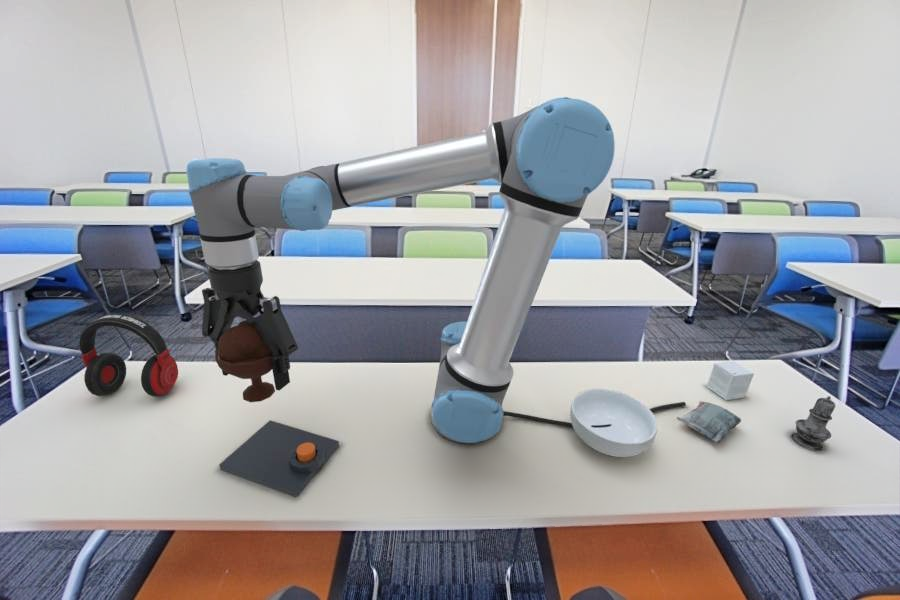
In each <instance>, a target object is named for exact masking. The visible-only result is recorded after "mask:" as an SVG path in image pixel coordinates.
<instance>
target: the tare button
mask: <svg viewBox="0 0 900 600" xmlns="http://www.w3.org/2000/svg"><path fill="white" fill-rule="evenodd" d="M315 455H316V453H315V446H314V444H312V443H303V444H301V445H300V446H299V447H298V448H297V457H298V460H299V461H300V462H309V461H311V460H312V459H313V458H314V457H315Z"/></svg>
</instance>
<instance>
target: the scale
mask: <svg viewBox="0 0 900 600" xmlns="http://www.w3.org/2000/svg"><path fill="white" fill-rule="evenodd" d="M303 443H312V444H314V446H315V453H316V455H315V457H314V458H313V459H312V460H311V461H309V462H300V461H299V460H298V457H297V448H298V447H299V446H300V445H301V444H303ZM338 448H340V443H339V440H336V439H333V438H329V437H326V436H323V435H320V434H317V433H313V432H310V431H307V430H304V429H300V428H297V427H294V426H291V425H287V424H284V423H281V422H278V421H273V420H271V419H270V420H268V421H267V422H266V423H265V424H264V425H262V426H261V428H258V430H256V432H254V434H252V435H251V436H250V437H249V438H248V439H246V440H245V442H243V443H242V444H241V445H240V446H238V447H237V448H236V449H235V450H234V451H232V453H230V454H229V455H228V456H227V457H226V458H225V459H224V460H222V462H220V463H219V464H218V466H219V470H220V471H223V472H225V473H227V474H230V475H233V476H236V477H238V478H240V479H244V480H246V481H250V482H253V483H255V484H257V485H261V486H264V487H267V488H270V489H271V490H275V491H277V492H279V493H283V494H286V495H288V496H291V497H294V498H298V497H299V496H300V494H301V493H302V491H304V489H305V488H306V487H307V485H308V484H309V483H310V482H311V481H312V480H313V479H314V477H315V476H316V475H317V474H318V472H319V471H320V470H321V469H322V467H323V466H324V465H325V464H326V463H327V462H328V460H329V459H330V458H331V457H332V455H334V453H335V452H336V450H338Z"/></svg>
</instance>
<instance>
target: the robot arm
mask: <svg viewBox="0 0 900 600" xmlns="http://www.w3.org/2000/svg"><path fill="white" fill-rule="evenodd" d="M615 150H616V141H615V134H614V131H613V128H612V125H611V123H610V121H609V119H608V117H607V116H606V115H605V114H604V112H603V111H602V110H600V108H598V107H597V106H595V104H593V103H590V102H588V101H586V100H583V99H580V98H572V97H567V96H564V97H557V98H552V99H549V100H546V101H545V102H543V103H541V104H540V105H537V106H535V107H533V108H531V109H529V110H527V111H525V112H523V113H521V114H519V115H516V116H512V117H511V118H508V119H503V120H501V121H496V122H491V123H490V124H489V125H488V126H487V128H486V130H485V131H481V132H476V133H471V134H467V135H463V136H462V135H461V136H458V137H457V136H456V137H453V138H449V139H444V140H439V141H435V142H434V141H433V142H431V143H426V144H421V145H416V146H412V147H407V148H402V149H398V150H393V151H389V152H384V153H379V154H375V155H370V156H365V157H360V158H356V159H355V158H354V159H352V160H346V161H341V162H339V163H332V164H327V165H321V166H320V165H319V166H316V167H312V168H309V169H307V170H303V171H298V172H294V173H290V174H289V173H288V174H285V175H255V174H248V173H247V170H246V167H245V164H244V163H243V161H241V160H239V159H236V158H234V159H233V158H220V157H219V158H215V157H214V158H213V157H211V158H210V157H209V158H196V159H192V160H190V161H188V162H187V163H186V166H185V171H186V178H187V183H188V195H189V197H190V201H191V205H192V207H193V212H194V216H195V219H196V222H197V227H198V230H199V233H198V234H199V237H200V238H199V240H200V244H201V245H200V246H201V249H202V254H203V255H202V256H203V258H204V259H203V260H204V263H205V264H206V265H208V267H207V268H206V271H207V275H208V279H209V284H210V286H208V287H206V288H203V289H201V294H202V299H203V309H202V325H201V335H202V336H203V338H207V337H208V338H210V340H211V342H212V343H213V345H214V349H215V350H217V349H218V342H219V339H220V337H221V336H222V334H223V333H224V332H226V331H227V330H228V329H229V328H232V326H233V323H234V321H235V319H236V318H241V319H242V320H247V322H248V323H249V324H250V325H253V326H254V327H255V329H256V330H257V331H258V333H259V334H260V336H261V337H262V339H263V340H264V342H265V343H266V344H267V346H268V347H269V349H270V350H271V352H272V353H273V356H272V357H270V359H271V364H272V370H271V371H272V375H273V381H274V388H275V391H281V390H283V389H284V388H285V387H286V386H287V385H288V384H290V383H291V379H290V373H289V370H291V363H290V356H291V355H292V354H294V353H296V351H298V350H299V346H298V344H297V341H296V339H295V337H294V335H293V333H292V330H291V328H290V325H289V324H288V322H287V319H286V317H285V315H284V312H283V311H282V307H281V306H282V305H281V300H280V298H279V296H277V295H274V296H272V297H268V296H267V297H266V296H265V295H264V294H263V292H262V289H261V287H262V284H263V281H264V278H263V271H262V265H261V262H260V261H259V260H258V259H259V258H260V255H259V249H258V242H257V237H256V230H255V228H263V229H265V228H266V229H279V230H295V231H300V232H306V231H313V230H314V231H317V230H318V231H319V230H323V229H325V228H326V227H327V226H329V224H330V220H331V218H332V214H333V211H337V210H343V209H347V208H352V207H355V206H361V205H365V204H366V205H367V204H372V203H377V202H381V201H386V200H387V201H388V200H392V199H397V198H402V197H408V196H412V195H417V194H423V193H429V192H432V191H438V190H443V189H449V188H453V187H458V186H459V187H460V186H464V185H470V184H475V183H480V182H485V181H490V180H493V181H495V182H496V183H498V184H499V185H500V187H499V190H498V194H499V196H500V199H501V201H502V203H503V205H504V209H503V211H502V212H503V213H502V216H501V217H500V222H499V225H498V227H497V230H496V232H495V237H494V239H493V242H492V246H491V248H490V251H489V254H488V257H487V261H486V264H485V266H484V270H483V272H482V275H481V279H480V282H479V285H478V288H477V291H476V294H475V297H474V299H473V303H472V306H471V309H470V312H469V314H468V317H467V321H457V322H452V323H450V324H448V325H446V326H445V327H444V328H443V329H442V330H441V331H442V332H441V337H440V342H441V345H440V346H441V348H440V349H441V350H440V359H439V366H438V372H437V378H436V384H435V388H434V395H433V400H432V402H431V417H430V419H431V424H432V426H433V429H434V430H435V431H436V432H437V434H439V435H440V436H442V437H443V438H445V439H447V440H448V441H451V442H455V443H458V444H477V443H481V442H484V441H488V440H489V439H491V438H493V437H494V436H495V435H496V434H498V432H500V429H501V428H502V424H503V420H504V417H510V418H516V419H523V420H528V421H533V422H537V423H542V424H548V425H552V426H553V425H554V426H560V427H566V428H573V425H572V422H569V421H562V420H556V419H550V418H544V417H540V416H534V415H530V414H525V413H518V412H511V411H505V410H503V403H504V399H505V397H506V395H507V392H508V390H509V387H510V385H511V382H512V380H513V377H514V368H513V366H512V364H511V363H510V359H511V358H512V355H513V352H514V350H515V347H516V346H517V345H516V344H517V342H518V340H519V337H520V335H521V332H522V330H523V327H524V324H525V322H526V320H527V317H528V314H529V312H530V310H531V307H532V304H533V302H534V299H535V297H536V294H537V293H538V289H539V287H540V284H541V282H542V280H543V277H544V274H545V272H546V269H547V267H548V264H549V262H550V260H551V257H552V255H553V252H554V250H555V247H556V244H557V242H558V240H559V237H560V236H561V235H560V234H561V232H562V229H563V227H564V226H566V225H568V224H569V223H571V222H574V221H576V220H578V219H579V217H580V215H581V212H582V210H583V207H584V205H585V203H586V200H587V198H588V195H590V194H591V193H592V192H594V191H595V190H596V189H597V188H598V187H599V186H600V185H601V184H602V183H603V182H604V180H605V179H606V177H607V176H608V174H609V173H610V171H611V167H612V166H613V161H614V158H615V152H616V151H615ZM258 314H259V315H258ZM256 315H257V316H256ZM254 316H255V317H254ZM278 348H280V349H278ZM221 373H222V376H225V377H227V376H228V375H229V374H228V373H225V372H224V371H223V370H222V369H221ZM686 406H687V403H686V402H685V401H679V402H675V403H668V404H662V405H658V406H654V407H652V408H648V409H649V410H650V411H651V412H652V413H653V414H654V413H656V412H659V411H663V410H667V409H668V410H669V409H674V408H675V409H676V408H681V407H686ZM610 426H611V424H607V425H592V426H591V427H594V428H602V427H610ZM573 429H574V428H573Z"/></svg>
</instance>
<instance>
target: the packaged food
mask: <svg viewBox="0 0 900 600" xmlns="http://www.w3.org/2000/svg"><path fill="white" fill-rule="evenodd" d="M676 419H677V421H679V422H682V423H683V424H684V425H685V426H687V427H689V428H691V429H693V430H694V431H696V432H698V433H699V434H701V435H703V436H705V437H706V438H708V439H709V440H711V441H712V442H715V443H720V442H721V440H722V439H724V437H725V436H726V435H727V434H728V433H729V432H730V431H731V430H733V429H734V428H736V427H737V426H738V425H739V424H740V423H741V422H742V418H741V417H739V416H737V415H736V414H734V413H732V412H731V411H730V410H729V409H727V408H724V407H722V406H720V405H717V404H714V403H711V402H708V401H702V400H700V401H698V405H697V406H696V407H695V408H694V409H691V411H689V412H687V413H685V414H683V415H681V416H676Z"/></svg>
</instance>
